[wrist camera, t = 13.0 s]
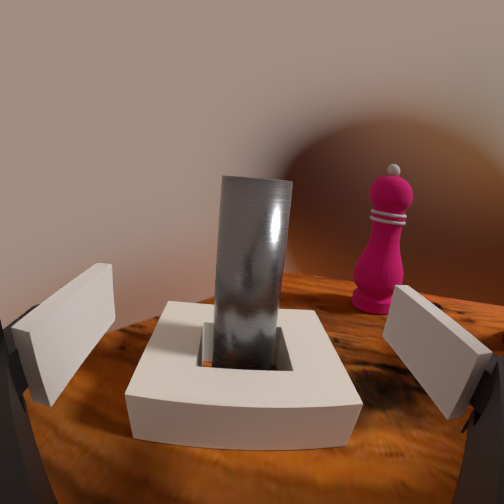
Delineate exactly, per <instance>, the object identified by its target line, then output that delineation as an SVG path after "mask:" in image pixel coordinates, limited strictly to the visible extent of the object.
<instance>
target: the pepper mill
mask: <svg viewBox="0 0 504 504" xmlns="http://www.w3.org/2000/svg"><path fill="white" fill-rule="evenodd" d="M388 174H389V175H384V176H381V177H378V178H377V179H376V180H374V182H373V183H372V185H371V188H370V199H371V201H372V203H373V205H374V209H372V210H371V212H372V214H371V215H372V216H370V219H372V220H373V223H372V232H371V236H370V239H369V242H368V244H367V246H366V248H365V250H364V252H363V253H362V255H361V256H360V258H359V260H358V262H357V264H356V266H355V269H354V273H353V279H354V281H355V284H356V285H357V287H358V288H357V289H355V290H354V291H353V296H352V301H351V302H352V305H353V306H354V307H356V308H357V309H359V310H361V311H363V312H367V313H370V314H378V315H382V314H388V313H389V309H390V305H391V300H392V296H393V292H394V287H395V285H402V281H403V267H402V261H401V256H400V247H399V242H400V233H401V229H402V225H405V218H406V215H405V214H404V212H405V211H406V210H407V209H408V208H409V207H410V205H411V203H412V199H413V195H412V189H411V187H410V185H409V183H408V182H407V181H406V180H404V179H402V178H400V177H398V175H399V174H400V168H399V167H398V166H397V165H396V164H391V165H390V166H389V167H388Z"/></svg>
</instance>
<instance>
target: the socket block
mask: <svg viewBox="0 0 504 504" xmlns="http://www.w3.org/2000/svg"><path fill="white" fill-rule="evenodd" d="M213 323H214V305H210V304H197V303H185V302H173V301H168V303H167V305H166V307H165V310H164V311H163V313H162V315H161V317H160V319H159V321H158V324H157V326H156V328H155V330H154V332H153V334H152V336H151V338H150V340H149V342H148V344H147V346H146V348H145V351H144V353H143V355H142V357H141V359H140V361H139V363H138V366H137V368H136V370H135V372H134V374H133V376H132V379H131V381H130V383H129V385H128V387H127V390H126V392H125V400H126V405H127V410H128V415H129V420H130V425H131V429H132V434H133V438H135V439H141V440H146V441H153V442H159V443H166V444H174V445H182V446H191V447H202V448H214V449H232V450H298V449H316V448H328V447H339V446H346V445H347V443H348V441H349V438H350V436H351V433H352V431H353V429H354V426H355V424H356V421H357V419H358V416H359V413H360V411H361V408H362V405H363V403H362V401H361V399H360V397H359V395H358V393H357V391H356V389H355V387H354V385H353V383H352V381H351V379H350V377H349V375H348V374H347V372H346V370H345V368H344V366H343V364H342V362H341V360H340V358H339V356H338V354H337V352H336V351H335V349H334V347H333V345H332V343H331V341H330V339H329V337H328V335H327V334H326V332H325V330H324V328H323V326H322V324H321V322H320V320H319V319H318V317H317V315H316V313H315V311H314V310H292V309H279V310H278V318H277V325H276V333H275V340H274V348H273V355H272V362H271V365H276V370H277V371H264V370H240V369H224V368H210V367H202V364H203V361H204V362H212V350H213Z"/></svg>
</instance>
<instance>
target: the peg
mask: <svg viewBox="0 0 504 504" xmlns="http://www.w3.org/2000/svg"><path fill="white" fill-rule="evenodd" d="M292 184H293V182H292V181H284V180H274V179H264V178H252V177H238V176H222V188H221V200H220V216H219V230H218V247H217V263H216V280H215V301H214V323H213V350H212V368H224V369H240V370H264V371H270V369H271V362H272V355H273V348H274V340H275V333H276V325H277V318H278V310H279V302H280V294H281V286H282V277H283V268H284V259H285V251H286V242H287V233H288V223H289V215H290V205H291V194H292Z"/></svg>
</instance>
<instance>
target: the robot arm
mask: <svg viewBox="0 0 504 504" xmlns="http://www.w3.org/2000/svg"><path fill="white" fill-rule="evenodd" d="M114 321H115V311H114V298H113V281H112V264H103V263H96V264H95V265H93V266H92V267H91V268H89V269H88V270H86V271H85V272H84V273H82V274H81V275H79V276H78V277H76V278H75V279H74V280H72V281H71V282H69V283H68V284H67V285H65V286H64V287H63V288H61V289H60V290H59V291H57V292H56V293H54V294H53V295H52V296H50V297H49V298H48V299H46V300H45V301H44V302H42V303H41V304H38V305H36V306H33V307H31V308H30V309H29V310H27V311H26V312H25V313H24V314H22V315H21V316H20V317H19V318H18V319H16V320H14V321H13V322H12V323H11V324H9V325H8V326H7V327H6V328H4V329H2V325H1V320H0V504H58V503H57V500H56V498H55V495H54V493H53V491H52V488H51V485H50V483H49V480H48V478H47V475H46V472H45V469H44V466H43V464H42V461H41V458H40V454H39V451H38V448H37V445H36V441H35V438H34V434H33V431H32V427H31V423H30V419H29V415H28V411H27V407H26V402H25V399H24V397H23V392H24V391H25V390H26V389H27V387H28V389H29V391H30V394H31V397H32V400H33V401H35V402H37V403H40V404H43V405H46V406H49V407H52V405H53V404H54V402H55V401H56V399H57V398H58V396H59V395H60V394H61V392H62V391H63V389H64V388H65V386H66V385H67V384H68V382H69V381H70V379H71V378H72V377H73V375H74V374H75V372H76V371H77V370H78V368H79V367H80V366H81V364H82V363H83V362H84V360H85V359H86V357H87V356H88V355H89V353H90V352H91V351H92V349H93V348H94V347H95V345H96V344H97V343H98V341H99V340H100V339H101V338H102V336H103V335H104V334H105V332H106V331H107V330H108V328H109V327H110V326H111V324H112V323H113V322H114ZM382 336H383V338H384V339H385V340H386V341H387V342H388V344H389V345H390V346H391V347H392V349H393V350H394V351H395V353H396V354H397V355H398V356H399V358H400V359H401V360H402V361H403V363H404V364H405V365H406V366H407V368H408V369H409V370H410V372H411V373H412V374H413V375H414V377H415V378H416V379H417V381H418V382H419V383H420V385H421V386H422V387H423V388H424V390H425V391H426V392H427V394H428V395H429V396H430V398H431V399H432V400H433V402H434V403H435V404H436V406H437V407H438V408H439V410H440V411H441V412H442V414H443V415H444V416H445V418H446V419H447V420H451V419H455V418H458V417H462V416H463V414H464V412H465V410H466V409H467V407H468V405H469V403H470V404H471V405H472V406H473V408H474V410H473V411H472V413H471V415H470V417H469V419H468V420H467V422H466V424H465V426H464V427H463V429H462V431H461V433H464V431H465V430H466V429H468V432H467V439H466V445H465V451H464V456H463V461H462V466H461V470H460V475H459V479H458V483H457V487H456V491H455V495H454V498H453V502H452V504H504V355H502V356H500V357H498V358H497V357H496V356H495V355H494V354H493V352H492V351H491V350H490V349H488V348H487V347H486V346H485V345H484V344H482V343H481V342H480V341H479V340H477V339H476V338H475V337H474V336H473V335H471V334H470V333H469V332H468V331H466V330H465V329H464V328H463V327H461V326H460V325H459V324H458V323H456V322H455V321H454V320H453V319H451V318H450V317H449V316H448V315H446V314H445V313H444V312H442V311H441V310H440V309H438V308H437V307H436V306H435V305H433V304H432V303H431V302H429V301H428V300H427V299H425V298H424V297H423V296H421V295H420V294H419V293H417V292H416V291H415V290H413V289H412V288H411V287H409V286H407V285H395V287H394V292H393V296H392V300H391V305H390V309H389V313H388V317H387V320H386V324H385V328H384V332H383V335H382ZM503 342H504V335H503Z"/></svg>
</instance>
